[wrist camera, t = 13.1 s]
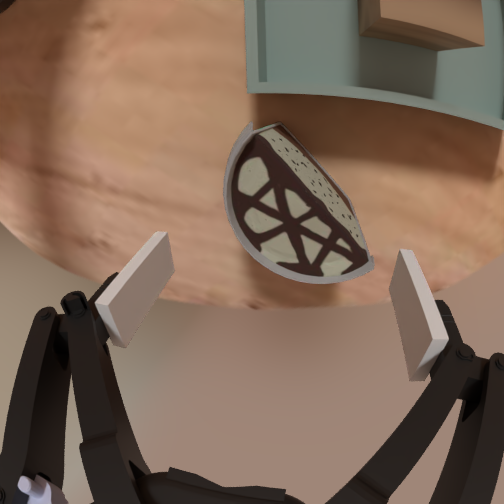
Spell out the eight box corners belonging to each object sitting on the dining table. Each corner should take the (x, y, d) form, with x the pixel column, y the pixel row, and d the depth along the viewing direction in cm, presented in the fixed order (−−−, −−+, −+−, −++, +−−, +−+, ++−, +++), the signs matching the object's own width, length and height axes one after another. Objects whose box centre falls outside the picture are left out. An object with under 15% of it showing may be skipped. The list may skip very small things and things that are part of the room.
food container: (219, 155, 26) (176, 196, 18) (267, 109, 24) (244, 125, 15) (309, 246, 30) (306, 317, 22) (359, 210, 27) (378, 274, 19)
